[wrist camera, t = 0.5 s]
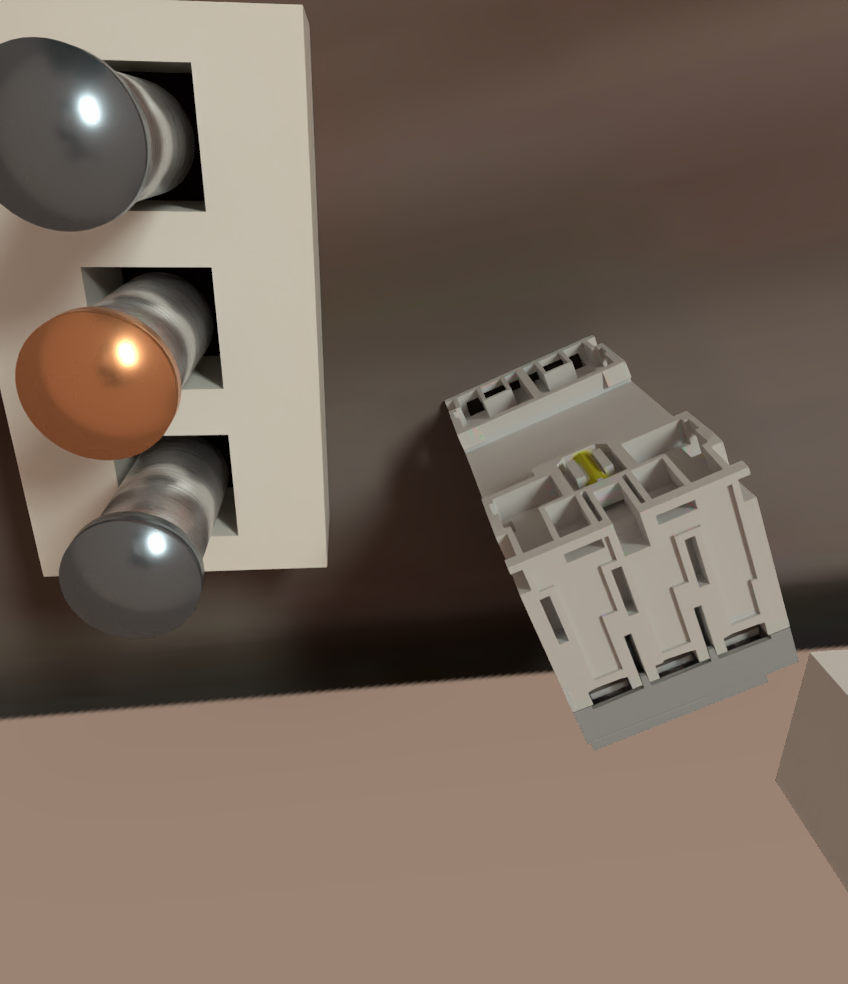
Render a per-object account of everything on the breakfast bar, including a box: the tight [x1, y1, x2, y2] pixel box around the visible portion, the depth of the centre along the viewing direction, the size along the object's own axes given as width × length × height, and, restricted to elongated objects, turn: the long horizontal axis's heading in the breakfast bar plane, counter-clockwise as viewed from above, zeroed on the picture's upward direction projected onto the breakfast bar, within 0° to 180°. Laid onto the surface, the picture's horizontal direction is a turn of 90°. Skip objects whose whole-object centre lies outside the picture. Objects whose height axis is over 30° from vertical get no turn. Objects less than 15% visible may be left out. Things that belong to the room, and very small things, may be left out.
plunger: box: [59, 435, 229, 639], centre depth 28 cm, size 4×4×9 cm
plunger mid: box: [15, 272, 214, 460], centre depth 26 cm, size 4×4×9 cm
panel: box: [0, 0, 329, 577], centre depth 30 cm, size 21×12×5 cm, turn 179°
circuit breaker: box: [445, 335, 798, 750], centre depth 32 cm, size 8×14×15 cm, turn 23°
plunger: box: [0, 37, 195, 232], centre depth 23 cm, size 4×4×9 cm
